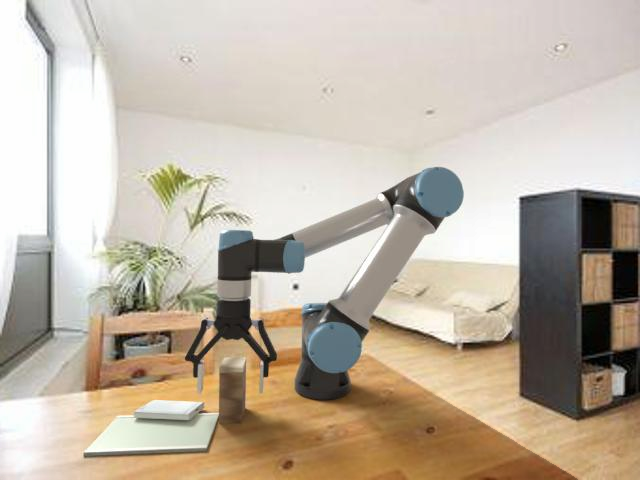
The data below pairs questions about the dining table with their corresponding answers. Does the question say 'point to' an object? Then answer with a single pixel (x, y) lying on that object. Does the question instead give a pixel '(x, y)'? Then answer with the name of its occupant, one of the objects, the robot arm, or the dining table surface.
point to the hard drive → (169, 410)
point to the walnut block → (232, 390)
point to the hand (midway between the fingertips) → (230, 391)
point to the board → (154, 435)
